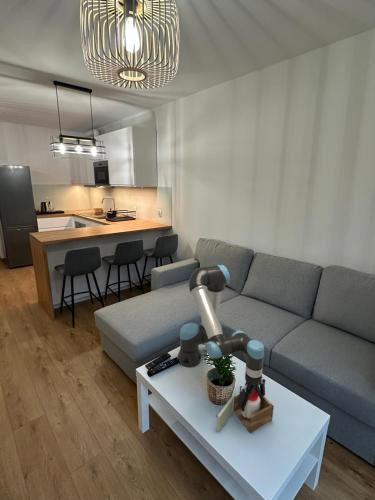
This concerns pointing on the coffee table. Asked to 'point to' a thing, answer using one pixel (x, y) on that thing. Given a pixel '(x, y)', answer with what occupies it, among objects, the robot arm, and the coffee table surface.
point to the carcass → (257, 418)
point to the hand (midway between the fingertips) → (250, 411)
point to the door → (224, 414)
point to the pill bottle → (253, 404)
